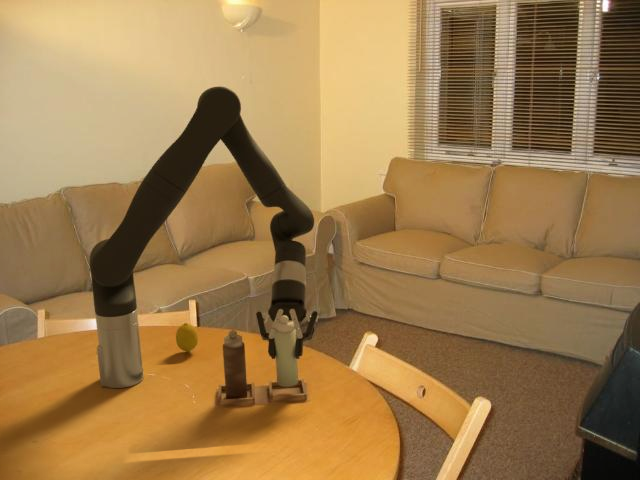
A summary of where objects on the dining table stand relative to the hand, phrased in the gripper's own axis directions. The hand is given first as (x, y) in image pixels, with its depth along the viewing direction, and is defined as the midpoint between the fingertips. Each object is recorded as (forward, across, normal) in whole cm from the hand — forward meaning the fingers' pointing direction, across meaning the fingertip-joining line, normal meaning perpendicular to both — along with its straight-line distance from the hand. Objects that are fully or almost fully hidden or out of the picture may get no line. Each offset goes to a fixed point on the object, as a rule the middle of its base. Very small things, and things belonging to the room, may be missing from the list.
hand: (285, 357), depth 154 cm
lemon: (-11, -28, +26) cm, 40 cm away
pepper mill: (+7, -11, +6) cm, 14 cm away
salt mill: (+3, 0, +6) cm, 7 cm away
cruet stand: (+7, -6, +8) cm, 12 cm away
